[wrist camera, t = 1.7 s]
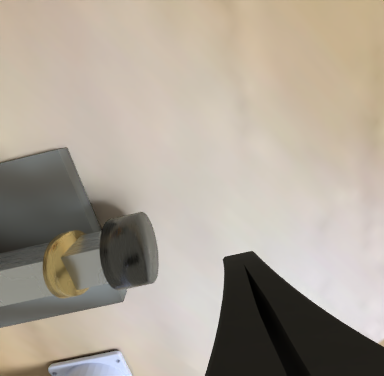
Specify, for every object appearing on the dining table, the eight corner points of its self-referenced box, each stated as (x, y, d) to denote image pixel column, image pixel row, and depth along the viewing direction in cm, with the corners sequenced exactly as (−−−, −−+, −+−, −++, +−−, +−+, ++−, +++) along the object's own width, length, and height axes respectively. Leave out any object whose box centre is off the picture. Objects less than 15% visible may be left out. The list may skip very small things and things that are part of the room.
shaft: (161, 253, 16) (152, 300, 12) (-56, 300, 16) (-139, 362, 12) (144, 202, 14) (127, 234, 10) (-92, 255, 15) (-199, 307, 11)
